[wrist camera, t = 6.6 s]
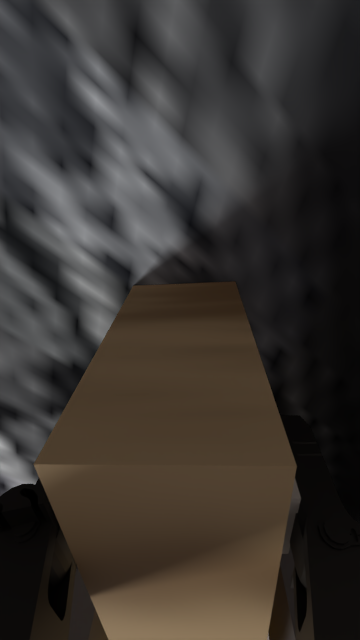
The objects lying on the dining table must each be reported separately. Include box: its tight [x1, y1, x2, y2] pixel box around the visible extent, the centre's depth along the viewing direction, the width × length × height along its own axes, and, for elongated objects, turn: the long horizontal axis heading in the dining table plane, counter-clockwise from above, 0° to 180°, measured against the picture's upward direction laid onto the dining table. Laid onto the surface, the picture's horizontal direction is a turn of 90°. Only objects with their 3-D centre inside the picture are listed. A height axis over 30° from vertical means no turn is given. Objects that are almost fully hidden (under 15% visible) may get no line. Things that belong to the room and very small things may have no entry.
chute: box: [68, 546, 296, 640], centre depth 16 cm, size 7×12×9 cm, turn 94°
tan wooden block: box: [34, 281, 297, 640], centre depth 14 cm, size 20×4×9 cm, turn 4°
